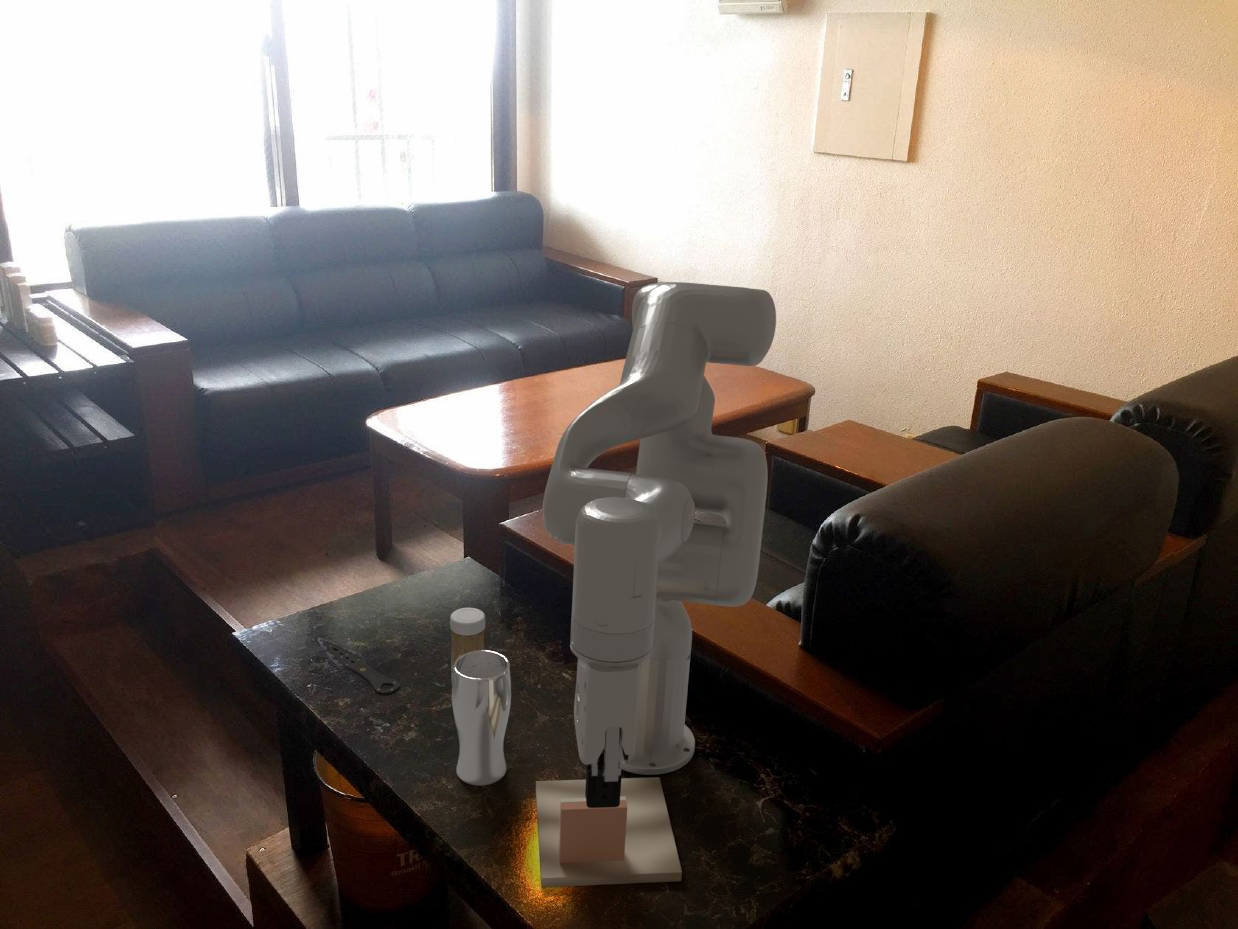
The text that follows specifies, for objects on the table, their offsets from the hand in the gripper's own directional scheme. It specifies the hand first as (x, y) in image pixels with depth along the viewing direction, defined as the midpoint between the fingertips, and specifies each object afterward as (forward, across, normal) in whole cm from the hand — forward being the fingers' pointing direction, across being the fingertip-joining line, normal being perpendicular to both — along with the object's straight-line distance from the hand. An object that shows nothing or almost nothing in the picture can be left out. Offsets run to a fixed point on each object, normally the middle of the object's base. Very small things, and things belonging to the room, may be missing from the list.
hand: (602, 802), depth 99 cm
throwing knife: (+14, -51, -30) cm, 61 cm away
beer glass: (+14, -26, -12) cm, 32 cm away
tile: (+13, -8, 0) cm, 16 cm away
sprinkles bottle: (+14, -40, -14) cm, 45 cm away
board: (+14, -14, +2) cm, 20 cm away
